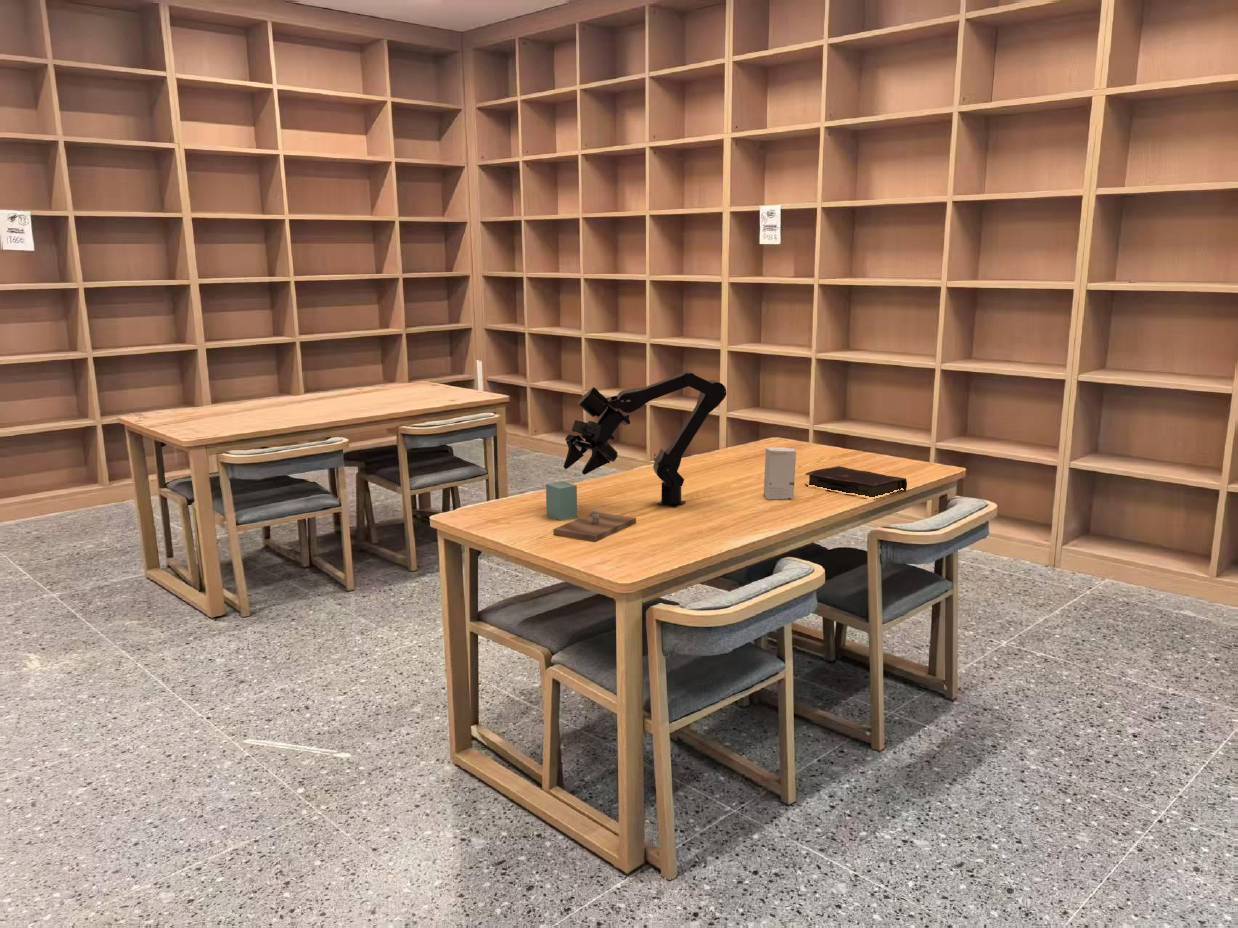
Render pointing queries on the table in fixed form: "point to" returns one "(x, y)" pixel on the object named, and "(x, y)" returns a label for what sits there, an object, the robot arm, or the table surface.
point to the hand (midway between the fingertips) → (573, 470)
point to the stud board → (594, 526)
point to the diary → (855, 481)
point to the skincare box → (779, 473)
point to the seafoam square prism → (561, 500)
